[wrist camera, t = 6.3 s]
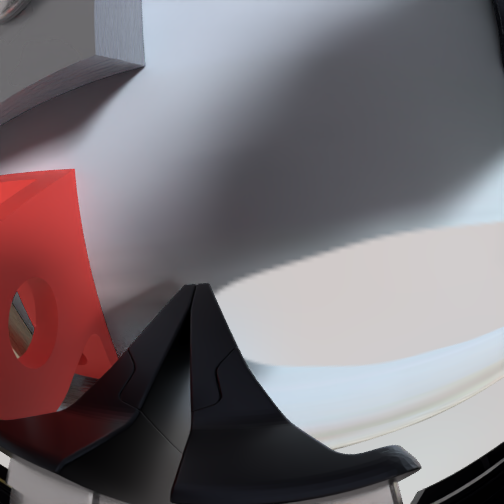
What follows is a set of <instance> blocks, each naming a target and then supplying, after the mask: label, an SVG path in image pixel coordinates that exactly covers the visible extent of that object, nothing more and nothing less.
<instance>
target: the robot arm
mask: <svg viewBox="0 0 504 504" xmlns="http://www.w3.org/2000/svg"><path fill="white" fill-rule="evenodd" d="M493 2H494V7H495V11H496V16H497V21H498V27H499V33H500V40H501V48H502V58H503V66H504V0H493ZM0 451H1V452H3V453H4V454H6V455H7V456H9V457H10V458H11V459H10V463H9V468H8V469H7V468H6V467H4V466H2V465H1V464H0V504H403V502H402V498H401V494H400V490H399V486H398V482H399V481H401V480H403V479H404V478H406V477H408V476H410V475H412V474H414V473H415V472H417V471H419V470H420V469H421V465H420V463H419V462H418V461H417V459H415V458H414V457H413V456H412V455H411V454H410V453H408V452H407V451H406V450H405V449H403V448H402V447H401V446H398V445H391V446H386V447H382V448H378V449H375V450H372V451H368V452H364V453H359V454H343V453H338V452H336V451H334V450H332V449H330V448H329V447H327V446H325V445H324V444H322V443H321V442H319V441H318V440H316V439H315V438H313V437H311V436H310V435H308V434H307V433H305V432H304V431H302V430H301V429H300V428H298V427H297V426H295V425H294V424H292V423H291V422H290V421H289V420H288V419H287V418H286V417H285V416H284V415H283V413H282V412H281V411H280V410H279V409H278V407H277V406H276V405H275V404H274V402H273V401H272V400H271V398H270V397H269V396H268V394H267V393H266V392H265V390H264V389H263V388H262V386H261V385H260V384H259V382H258V381H257V380H256V378H255V377H254V375H253V374H252V372H251V371H250V369H249V367H248V366H247V364H246V362H245V360H244V358H243V356H242V354H241V352H240V350H239V349H238V346H237V344H236V342H235V340H234V338H233V335H232V333H231V331H230V329H229V327H228V325H227V323H226V320H225V318H224V316H223V314H222V311H221V309H220V307H219V305H218V302H217V300H216V298H215V296H214V293H213V291H212V289H211V286H210V284H208V283H203V284H198V285H196V284H190V285H184V286H183V287H182V288H181V289H180V290H179V292H178V293H177V294H176V295H175V296H174V297H173V298H172V299H171V300H170V302H169V303H168V304H167V305H166V306H165V307H164V308H163V309H162V310H161V312H160V313H159V314H158V315H157V316H156V317H155V318H154V319H153V320H152V322H151V323H150V324H149V325H148V326H147V327H146V328H145V329H144V331H143V332H142V333H141V334H140V335H139V336H138V337H137V339H136V340H135V341H134V342H133V343H132V344H131V345H130V347H129V348H128V350H126V351H125V352H124V353H123V354H122V356H121V357H120V358H119V359H118V360H117V361H116V362H115V363H114V364H113V366H112V367H111V368H110V369H109V370H108V371H107V372H106V373H105V374H104V375H103V376H102V377H101V378H100V379H99V380H98V381H97V382H96V383H94V384H93V385H92V386H91V387H90V388H89V389H88V390H87V391H86V392H85V393H84V394H83V395H82V396H81V397H80V398H79V399H78V400H77V401H75V402H74V403H73V404H72V405H70V406H69V407H67V408H65V409H63V410H60V411H57V412H52V413H47V414H42V415H37V416H31V417H25V418H19V419H12V420H0ZM411 504H504V442H502V443H501V444H500V445H498V446H497V447H495V448H494V449H492V450H491V451H489V452H488V453H486V454H485V455H483V456H482V457H480V458H479V459H477V460H476V461H474V462H473V463H471V464H469V465H468V466H466V467H465V468H463V469H461V470H460V471H458V472H456V473H454V474H452V475H450V476H449V477H447V478H445V479H443V480H441V481H439V482H437V483H435V484H433V485H431V486H429V487H427V488H425V489H423V490H421V491H418V492H417V494H416V495H415V497H414V499H413V501H412V502H411Z"/></svg>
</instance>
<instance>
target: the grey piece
mask: <svg viewBox="0 0 504 504" xmlns="http://www.w3.org/2000/svg"><path fill="white" fill-rule="evenodd" d="M144 66H145V57H144V44H143V28H142V4H141V0H0V126H1V125H2V124H4V123H5V122H7V121H9V120H11V119H12V118H14V117H16V116H18V115H20V114H21V113H23V112H25V111H27V110H29V109H31V108H33V107H35V106H37V105H39V104H41V103H43V102H45V101H47V100H49V99H52V98H54V97H56V96H58V95H61V94H63V93H65V92H68V91H70V90H73V89H75V88H78V87H80V86H83V85H85V84H88V83H91V82H94V81H97V80H99V79H102V78H105V77H109V76H112V75H115V74H118V73H122V72H125V71H129V70H132V69H136V68H140V67H144ZM8 328H9V338H10V342H11V346H12V349H13V351H14V353H15V355H16V357H17V359H18V358H19V357H21V356H22V355H23V354H24V353H25V352H26V350H27V349H28V347H29V345H30V343H31V340H32V337H33V335H32V334H31V332H30V331H29V329H28V328H27V326H26V325H25V323H24V322H23V320H22V319H21V317H20V315H19V314H18V312H17V311H16V309H15V307H14V306H13V304H11V307H10V312H9V321H8ZM98 380H99V379H96V378H92V377H88V376H83V375H79V374H75V373H74V376H73V379H72V382H71V384H70V387H69V390H68V392H67V394H66V396H65V398H64V400H63V402H62V404H61V405H60V407H59V408H58V410H57V411H60V410H63V409H65V408H67V407H69V406H70V405H72V404H73V403H74V402H75V401H77V400H78V399H79V398H80V397H81V396H82V395H83V394H84V393H85V392H86V391H87V390H88V389H89V388H90V387H91V386H92V385H93V384H94V383H96V382H97V381H98ZM57 411H56V412H57Z"/></svg>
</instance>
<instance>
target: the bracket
mask: <svg viewBox="0 0 504 504" xmlns="http://www.w3.org/2000/svg"><path fill="white" fill-rule="evenodd" d="M16 292H18V294H19V297H20V299H21V301H22V303H23V306H24V308H25V310H26V312H27V314H28V316H29V318H30V320H31V322H32V324H33V326H34V333H33V337H32V340H31V343H30V345H29V347H28V349H27V350H26V352H25V353H24V354H23V355H22V356H21V357H19V358H18V359H17V357H16V355H15V353H14V351H13V349H12V346H11V342H10V338H9V328H8V321H9V312H10V307H11V304H12V301H13V298H14V296H15V294H16ZM117 360H118V356H117V353H116V351H115V348H114V345H113V342H112V340H111V337H110V334H109V331H108V328H107V325H106V322H105V319H104V316H103V312H102V309H101V306H100V302H99V299H98V295H97V292H96V288H95V284H94V280H93V276H92V272H91V268H90V264H89V259H88V255H87V250H86V245H85V240H84V235H83V229H82V224H81V218H80V211H79V204H78V197H77V188H76V179H75V169H64V170H49V171H36V172H25V173H16V174H7V175H0V419H1V420H12V419H19V418H25V417H31V416H37V415H42V414H47V413H52V412H56V411H57V410H58V408H59V407H60V405H61V404H62V402H63V400H64V398H65V396H66V394H67V392H68V390H69V387H70V384H71V382H72V379H73V376H74V373H75V374H79V375H83V376H88V377H92V378H96V379H100V378H101V377H102V376H103V375H104V374H105V373H106V372H107V371H108V370H109V369H110V368H111V367H112V366H113V364H114V363H115V362H116V361H117Z"/></svg>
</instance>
